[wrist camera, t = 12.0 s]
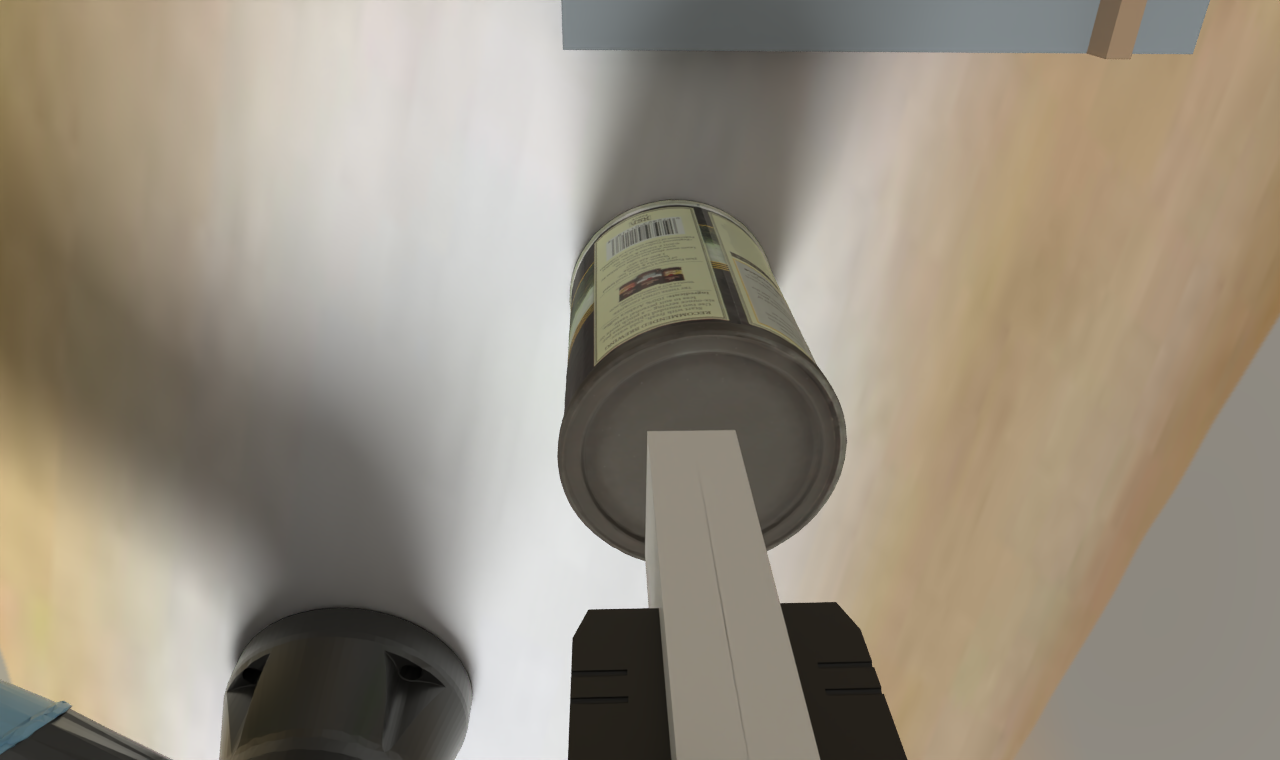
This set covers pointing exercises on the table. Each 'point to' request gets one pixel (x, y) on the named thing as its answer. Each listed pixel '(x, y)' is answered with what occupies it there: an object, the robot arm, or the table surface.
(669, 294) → the coffee can
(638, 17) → the deck
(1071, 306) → the table surface
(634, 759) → the robot arm
